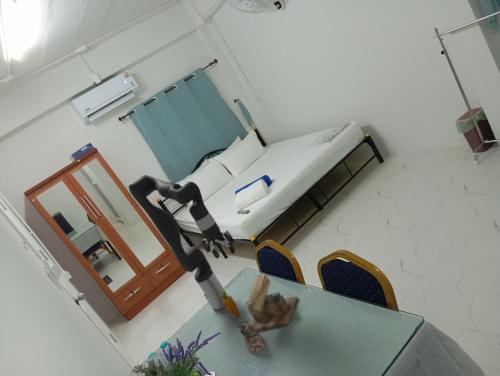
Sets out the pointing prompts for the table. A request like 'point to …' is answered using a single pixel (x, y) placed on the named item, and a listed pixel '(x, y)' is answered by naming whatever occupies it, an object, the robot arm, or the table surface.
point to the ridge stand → (274, 312)
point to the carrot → (229, 304)
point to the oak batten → (258, 294)
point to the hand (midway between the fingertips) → (225, 255)
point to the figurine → (251, 338)
